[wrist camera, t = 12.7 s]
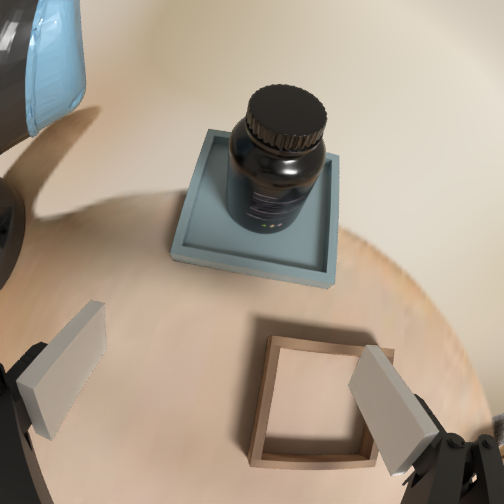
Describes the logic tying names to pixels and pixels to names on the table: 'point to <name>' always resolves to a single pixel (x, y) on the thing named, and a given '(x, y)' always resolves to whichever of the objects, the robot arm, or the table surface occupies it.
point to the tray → (253, 244)
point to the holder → (255, 453)
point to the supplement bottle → (275, 158)
